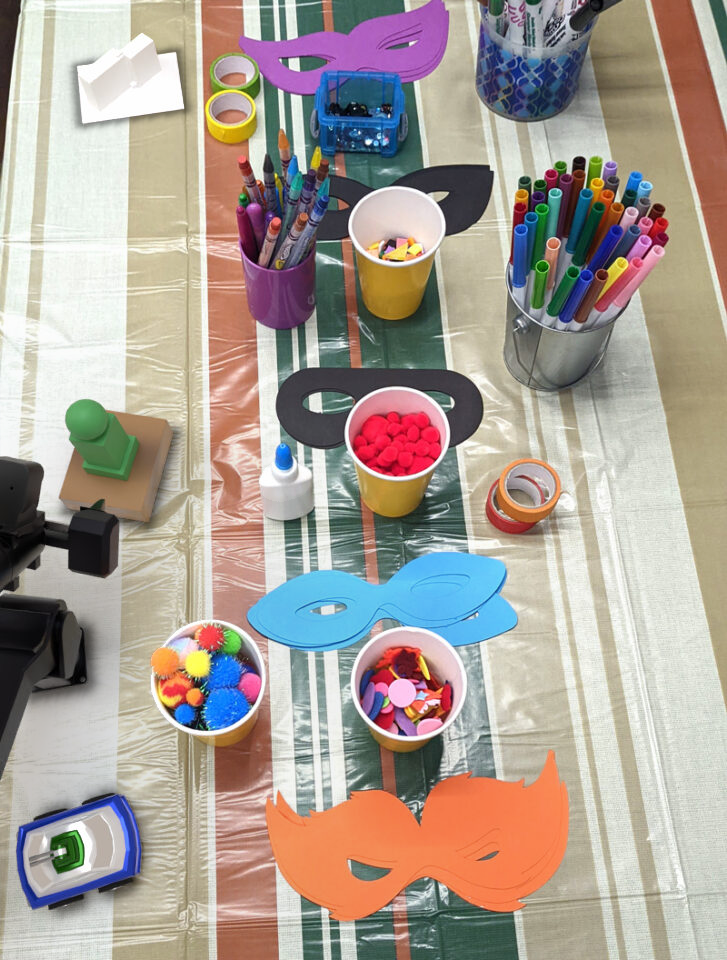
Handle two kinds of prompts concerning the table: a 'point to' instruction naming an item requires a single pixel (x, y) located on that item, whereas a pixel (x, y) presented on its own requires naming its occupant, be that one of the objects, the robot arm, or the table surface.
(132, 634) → the table surface
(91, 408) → the toy pawn
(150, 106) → the napkin holder
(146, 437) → the oak block
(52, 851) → the toy car
